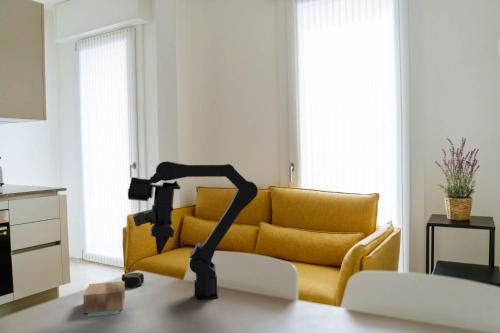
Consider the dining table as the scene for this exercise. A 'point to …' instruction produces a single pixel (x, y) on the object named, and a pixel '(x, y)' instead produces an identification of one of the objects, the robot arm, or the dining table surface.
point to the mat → (103, 313)
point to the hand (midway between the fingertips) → (158, 253)
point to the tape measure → (133, 279)
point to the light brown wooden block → (104, 297)
